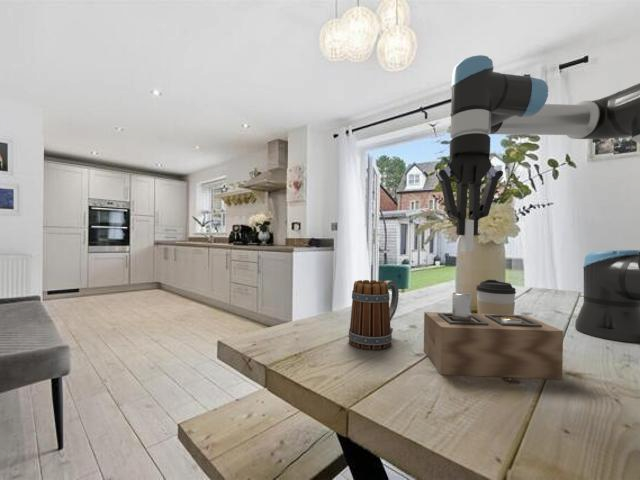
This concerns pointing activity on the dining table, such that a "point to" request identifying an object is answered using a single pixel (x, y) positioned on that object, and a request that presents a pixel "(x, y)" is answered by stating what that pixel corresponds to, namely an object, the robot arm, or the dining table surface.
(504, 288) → the coffee cup
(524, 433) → the dining table surface
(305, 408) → the dining table surface
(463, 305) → the peg
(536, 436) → the dining table surface
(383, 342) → the mug
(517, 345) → the socket block
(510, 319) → the peg
